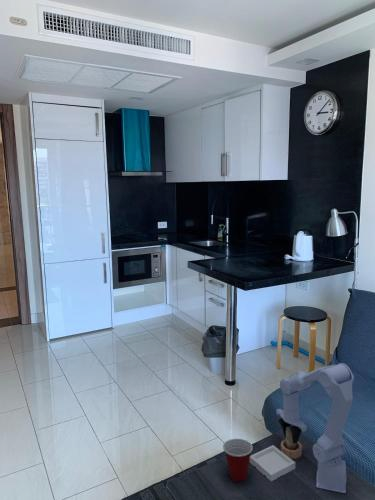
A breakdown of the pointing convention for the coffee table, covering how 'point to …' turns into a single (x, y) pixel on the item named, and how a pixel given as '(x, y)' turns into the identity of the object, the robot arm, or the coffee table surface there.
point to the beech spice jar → (290, 438)
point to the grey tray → (272, 462)
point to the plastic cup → (238, 458)
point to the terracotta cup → (291, 453)
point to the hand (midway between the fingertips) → (291, 439)
